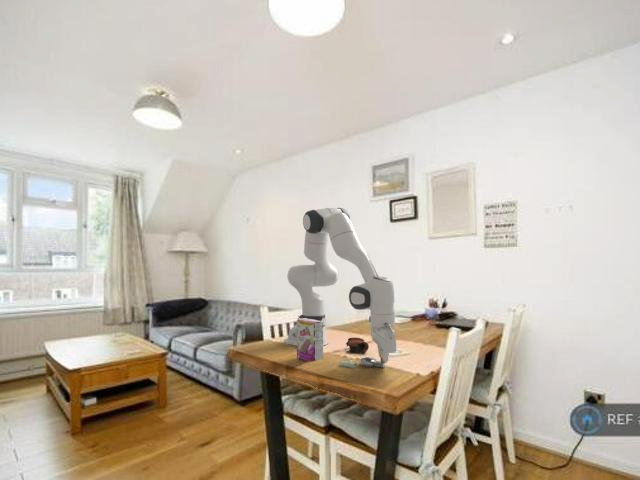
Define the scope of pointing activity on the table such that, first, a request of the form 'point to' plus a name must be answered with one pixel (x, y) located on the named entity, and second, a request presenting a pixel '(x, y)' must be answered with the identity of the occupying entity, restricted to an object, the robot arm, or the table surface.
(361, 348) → the pottery mug
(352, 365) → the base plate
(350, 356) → the table surface
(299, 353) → the candy bar box
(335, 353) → the table surface
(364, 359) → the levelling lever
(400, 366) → the table surface
